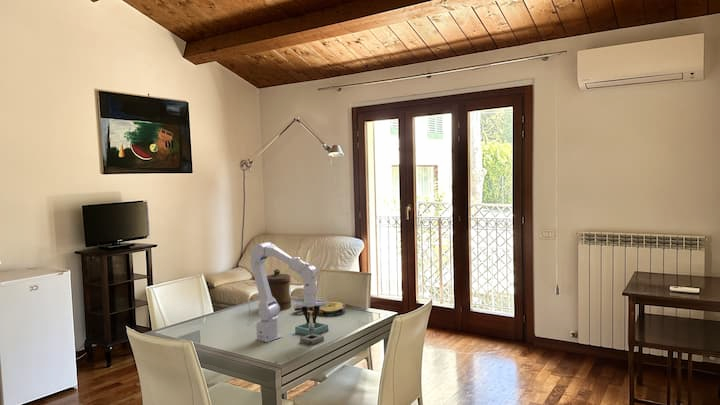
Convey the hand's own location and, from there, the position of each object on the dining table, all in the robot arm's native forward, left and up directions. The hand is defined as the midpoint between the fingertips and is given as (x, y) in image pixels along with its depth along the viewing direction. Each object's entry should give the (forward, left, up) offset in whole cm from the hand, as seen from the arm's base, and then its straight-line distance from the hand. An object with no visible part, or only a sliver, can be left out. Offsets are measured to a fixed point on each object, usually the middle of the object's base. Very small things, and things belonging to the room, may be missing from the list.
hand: (311, 323), depth 218 cm
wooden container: (+32, +59, -8) cm, 68 cm away
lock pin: (0, 0, -3) cm, 3 cm away
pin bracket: (0, 0, -8) cm, 8 cm away
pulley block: (+38, +30, -9) cm, 49 cm away
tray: (+10, +10, -8) cm, 16 cm away
